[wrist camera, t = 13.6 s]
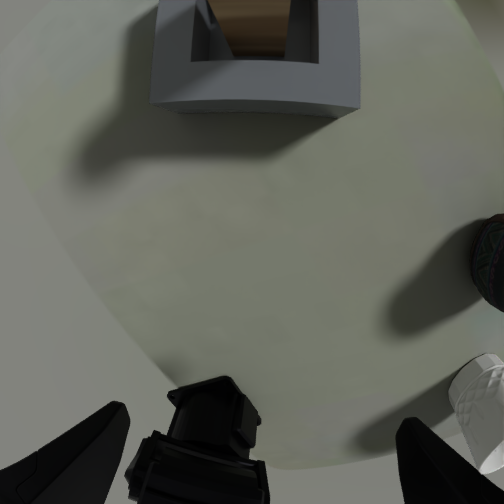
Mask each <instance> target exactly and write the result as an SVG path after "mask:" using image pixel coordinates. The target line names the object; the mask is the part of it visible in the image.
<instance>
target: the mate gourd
mask: <svg viewBox="0 0 504 504" xmlns="http://www.w3.org/2000/svg"><path fill="white" fill-rule="evenodd" d="M470 270H471V276H472V280H473V282H474V284H475V285H476V287H477V288H478V290H479V292H480V293H481V295H482V296H483V297H484V299H485V300H486V301H487V302H488V303H489V304H490V305H492V306H494V307H495V308H497V309H499V310H500V311H502V312H504V214H496V215H494V216H492V217H491V218H489V219H487V220H486V221H485V223H484V224H483V225H482V227H481V229H480V231H479V232H478V234H477V236H476V238H475V240H474V243H473V245H472V249H471V254H470Z"/></svg>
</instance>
